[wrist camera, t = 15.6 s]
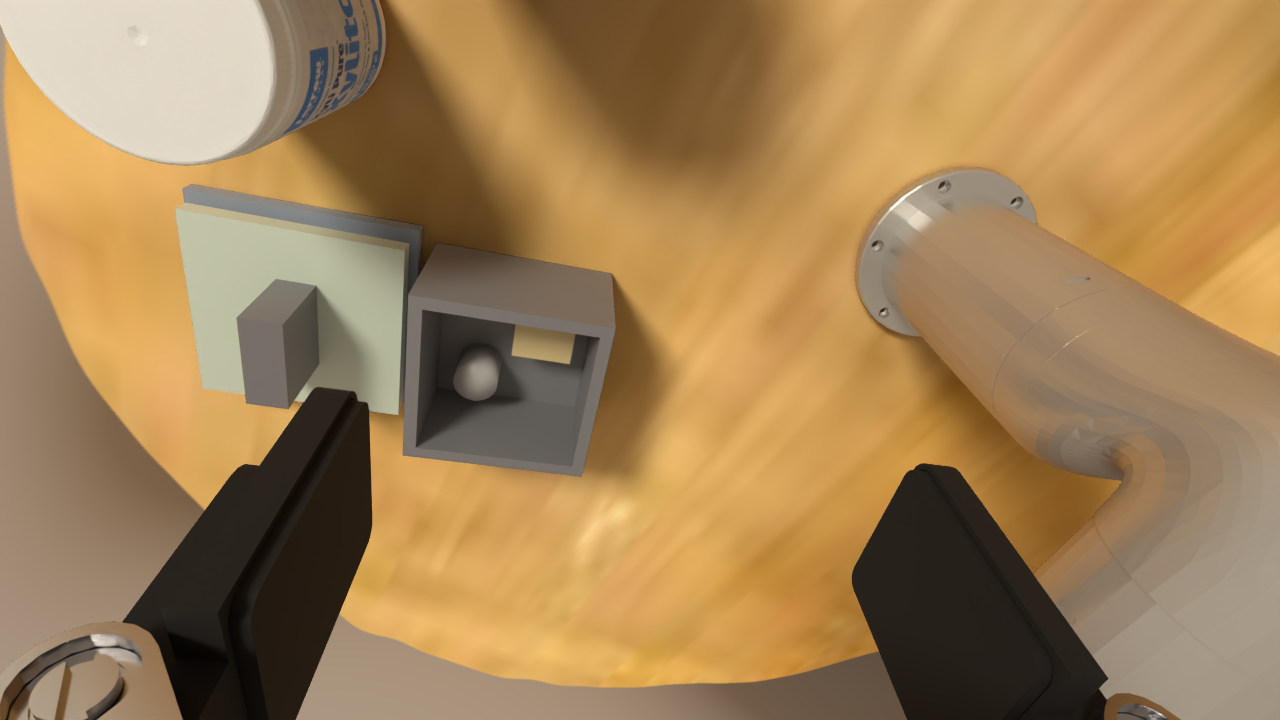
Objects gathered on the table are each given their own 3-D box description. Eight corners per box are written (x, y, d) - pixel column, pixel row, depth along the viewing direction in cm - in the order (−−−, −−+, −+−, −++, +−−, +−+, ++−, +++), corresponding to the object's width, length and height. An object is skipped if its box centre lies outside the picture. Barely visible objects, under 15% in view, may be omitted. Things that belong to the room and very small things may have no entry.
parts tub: (611, 273, 44) (615, 328, 37) (582, 408, 50) (581, 476, 43) (437, 242, 42) (408, 294, 35) (428, 387, 48) (402, 455, 41)
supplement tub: (408, 103, 37) (317, 169, 25) (246, 112, 37) (73, 184, 25) (363, -97, 32) (221, -138, 20) (175, -88, 32) (-90, -125, 19)
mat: (422, 225, 41) (419, 231, 41) (415, 395, 48) (411, 403, 48) (191, 184, 39) (182, 188, 38) (218, 369, 46) (211, 376, 45)
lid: (413, 237, 41) (381, 286, 34) (405, 397, 47) (377, 462, 41) (194, 197, 38) (118, 241, 32) (218, 371, 45) (158, 436, 39)
